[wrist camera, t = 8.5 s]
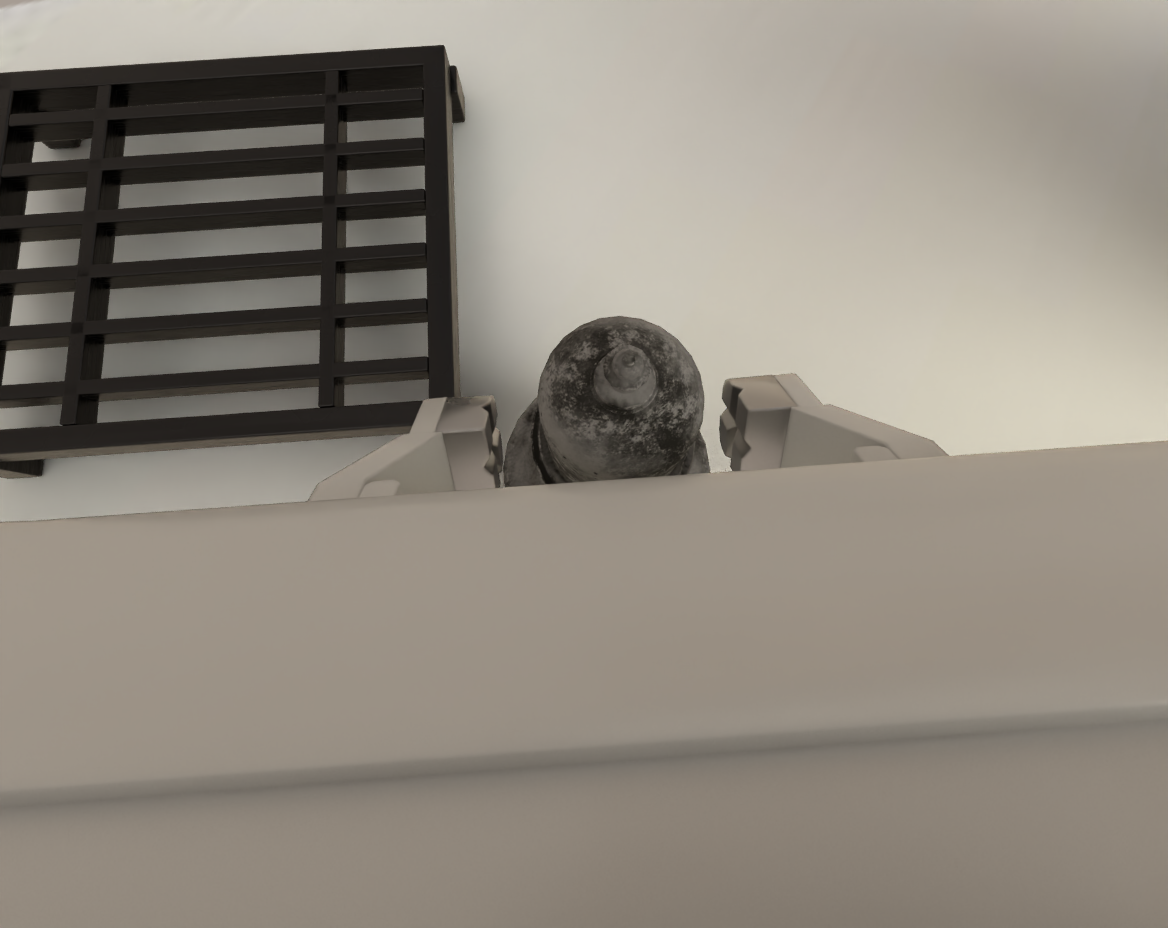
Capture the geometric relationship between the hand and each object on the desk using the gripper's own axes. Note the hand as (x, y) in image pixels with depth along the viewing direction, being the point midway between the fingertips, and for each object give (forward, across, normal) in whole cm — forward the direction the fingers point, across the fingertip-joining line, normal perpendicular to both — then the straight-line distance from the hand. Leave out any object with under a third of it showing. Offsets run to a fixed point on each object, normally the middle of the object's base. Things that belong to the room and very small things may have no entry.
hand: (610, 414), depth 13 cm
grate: (+11, +12, -1) cm, 17 cm away
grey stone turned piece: (+5, 0, +6) cm, 7 cm away
